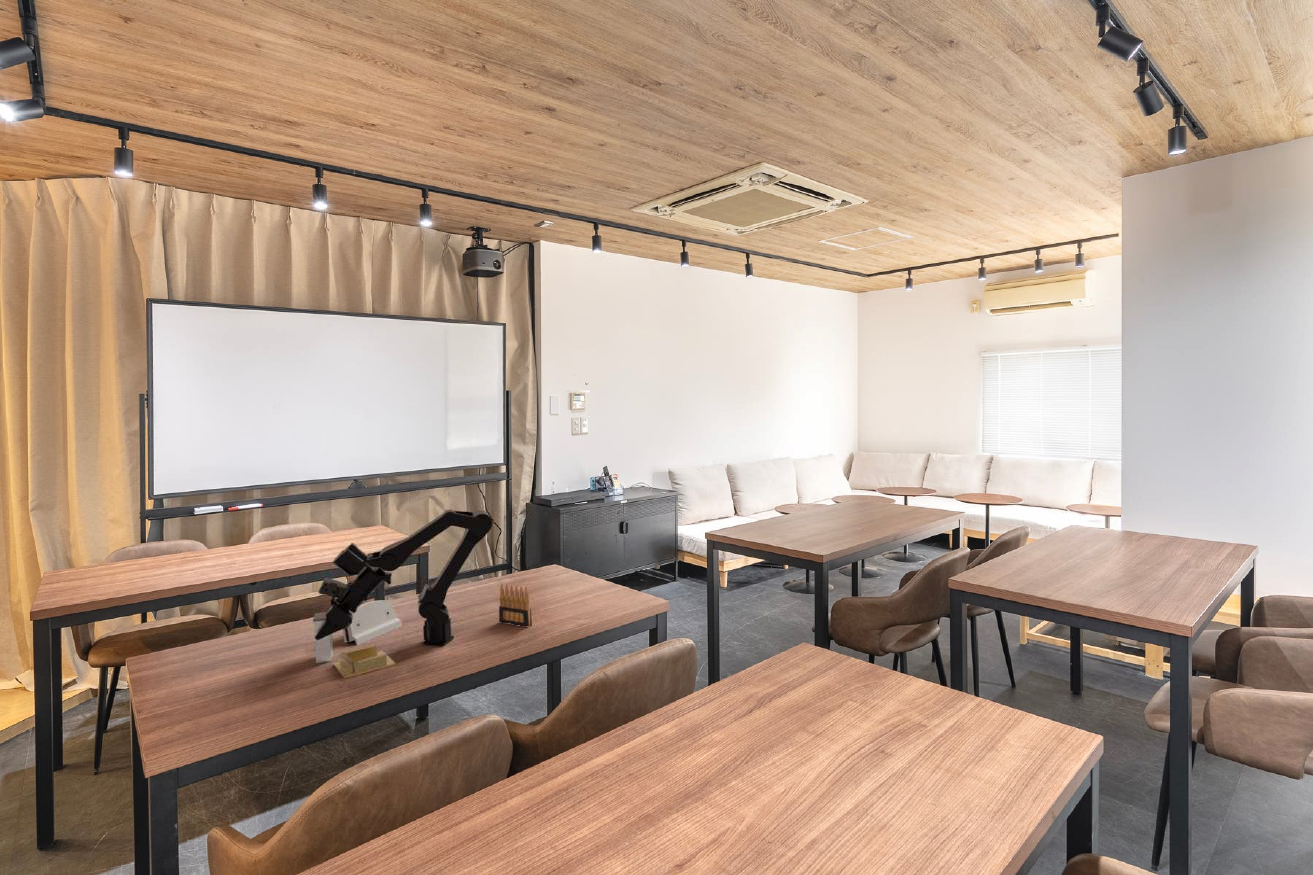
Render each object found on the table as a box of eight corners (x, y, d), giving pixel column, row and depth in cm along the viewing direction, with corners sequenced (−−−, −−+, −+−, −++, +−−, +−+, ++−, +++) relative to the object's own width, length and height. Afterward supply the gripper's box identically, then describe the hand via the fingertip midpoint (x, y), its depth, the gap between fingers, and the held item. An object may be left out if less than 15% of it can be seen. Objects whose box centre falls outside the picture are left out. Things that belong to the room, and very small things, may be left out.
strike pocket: (382, 652, 172) (382, 641, 172) (395, 664, 164) (394, 653, 164) (333, 664, 165) (333, 654, 165) (344, 678, 157) (344, 667, 156)
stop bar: (333, 653, 172) (331, 611, 171) (331, 661, 167) (329, 617, 166) (317, 655, 171) (315, 613, 170) (315, 663, 166) (312, 619, 165)
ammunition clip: (532, 625, 191) (530, 585, 190) (528, 627, 189) (527, 587, 188) (502, 620, 195) (501, 581, 194) (498, 622, 193) (497, 583, 192)
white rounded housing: (356, 645, 177) (346, 610, 178) (345, 648, 179) (335, 614, 180) (403, 625, 192) (394, 593, 193) (393, 628, 194) (383, 596, 195)
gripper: (341, 559, 177) (297, 603, 174) (335, 576, 160) (286, 626, 157) (373, 583, 181) (331, 627, 178) (370, 603, 164) (324, 652, 160)
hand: (318, 632), depth 168 cm, fingers open, 9 cm apart
